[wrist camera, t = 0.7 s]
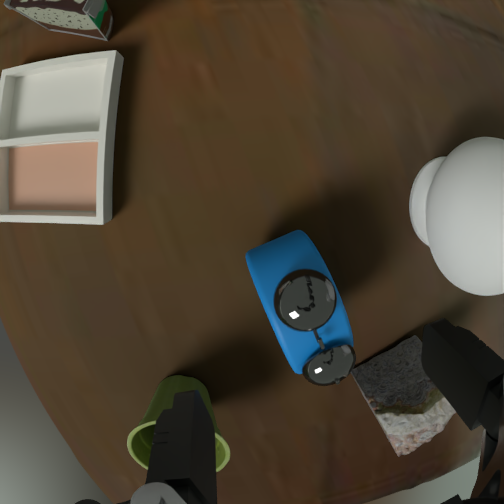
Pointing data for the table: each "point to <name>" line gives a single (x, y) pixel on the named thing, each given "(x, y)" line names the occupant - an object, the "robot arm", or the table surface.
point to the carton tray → (59, 139)
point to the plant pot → (163, 399)
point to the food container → (68, 16)
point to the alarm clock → (303, 307)
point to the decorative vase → (464, 214)
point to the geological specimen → (403, 396)
